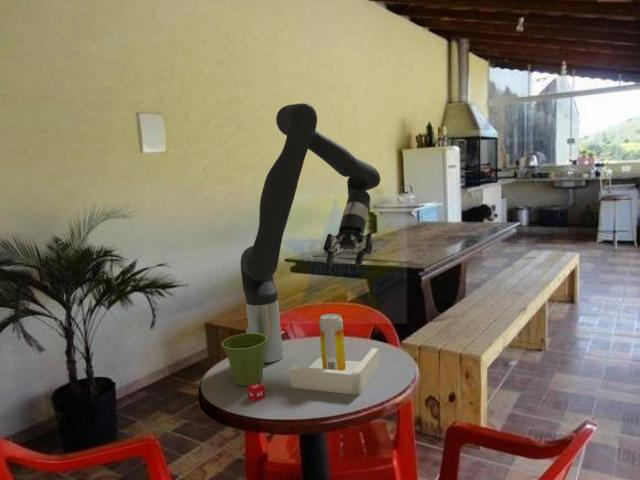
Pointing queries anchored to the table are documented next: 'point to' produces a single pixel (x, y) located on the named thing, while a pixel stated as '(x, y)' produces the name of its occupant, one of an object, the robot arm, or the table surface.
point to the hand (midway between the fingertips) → (343, 264)
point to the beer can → (332, 342)
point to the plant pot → (246, 357)
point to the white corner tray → (337, 375)
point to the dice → (256, 392)
